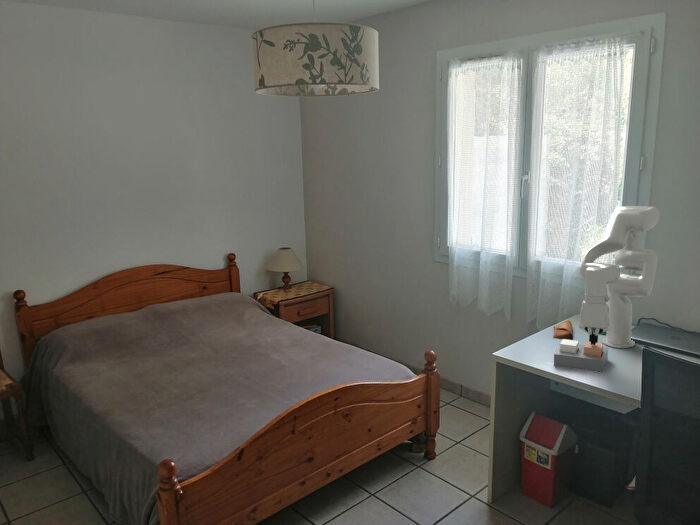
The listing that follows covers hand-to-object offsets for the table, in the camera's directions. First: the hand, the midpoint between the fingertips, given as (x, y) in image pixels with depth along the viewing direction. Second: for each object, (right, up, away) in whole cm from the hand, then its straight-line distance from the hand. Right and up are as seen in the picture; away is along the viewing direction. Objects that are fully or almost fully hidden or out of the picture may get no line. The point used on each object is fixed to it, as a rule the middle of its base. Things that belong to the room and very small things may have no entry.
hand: (593, 343), depth 212 cm
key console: (-3, -8, +4) cm, 10 cm away
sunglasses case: (+3, -1, +39) cm, 39 cm away
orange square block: (0, -4, +1) cm, 4 cm away
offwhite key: (-7, -4, +6) cm, 10 cm away
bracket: (+23, +1, +41) cm, 47 cm away
